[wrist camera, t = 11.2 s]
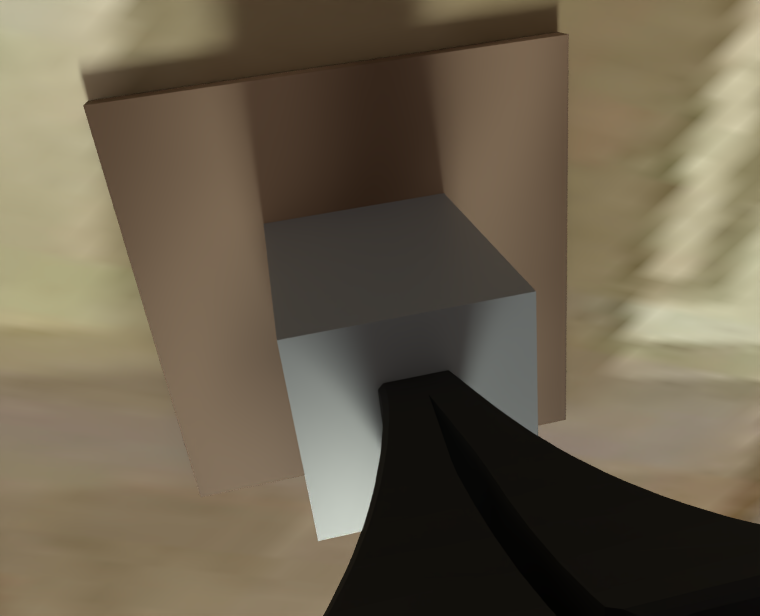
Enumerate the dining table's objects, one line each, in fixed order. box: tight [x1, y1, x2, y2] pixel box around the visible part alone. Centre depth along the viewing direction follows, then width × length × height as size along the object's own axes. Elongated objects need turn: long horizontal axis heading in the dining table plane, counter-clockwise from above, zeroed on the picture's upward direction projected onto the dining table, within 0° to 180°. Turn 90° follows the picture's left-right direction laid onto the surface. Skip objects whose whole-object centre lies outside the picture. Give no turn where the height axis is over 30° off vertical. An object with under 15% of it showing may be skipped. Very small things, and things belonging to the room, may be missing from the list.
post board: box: [83, 32, 569, 497], centre depth 16 cm, size 11×11×6 cm
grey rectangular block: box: [264, 193, 538, 541], centre depth 15 cm, size 4×4×6 cm
